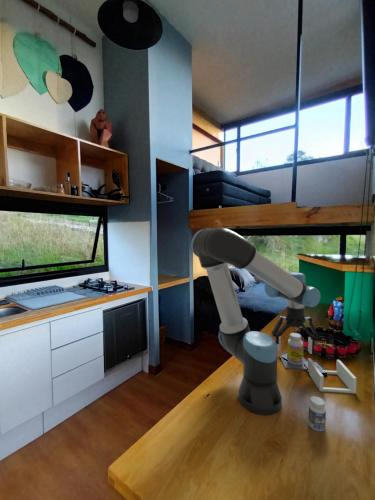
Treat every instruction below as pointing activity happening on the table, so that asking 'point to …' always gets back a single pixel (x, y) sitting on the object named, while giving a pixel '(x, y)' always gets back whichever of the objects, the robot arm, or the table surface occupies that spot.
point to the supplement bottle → (295, 349)
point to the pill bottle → (317, 414)
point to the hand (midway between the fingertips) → (294, 351)
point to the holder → (340, 371)
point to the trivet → (292, 366)
